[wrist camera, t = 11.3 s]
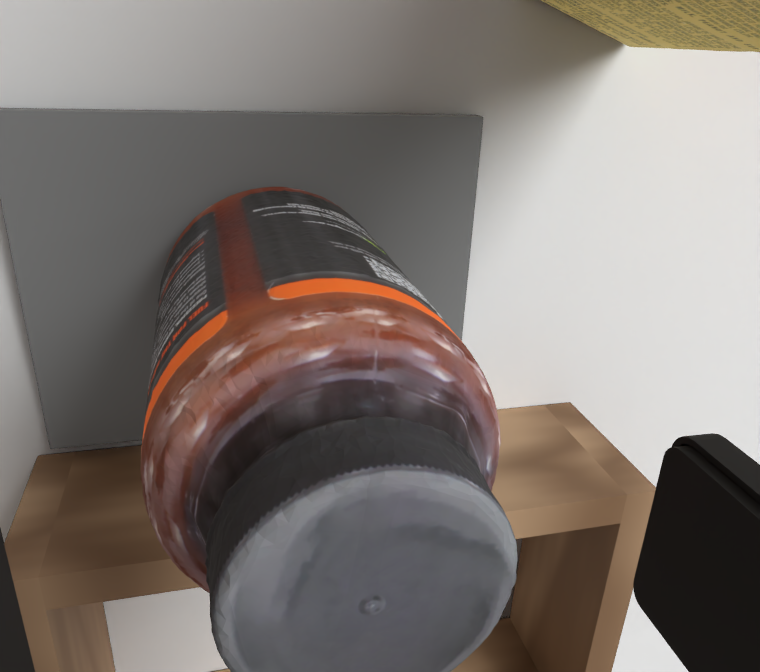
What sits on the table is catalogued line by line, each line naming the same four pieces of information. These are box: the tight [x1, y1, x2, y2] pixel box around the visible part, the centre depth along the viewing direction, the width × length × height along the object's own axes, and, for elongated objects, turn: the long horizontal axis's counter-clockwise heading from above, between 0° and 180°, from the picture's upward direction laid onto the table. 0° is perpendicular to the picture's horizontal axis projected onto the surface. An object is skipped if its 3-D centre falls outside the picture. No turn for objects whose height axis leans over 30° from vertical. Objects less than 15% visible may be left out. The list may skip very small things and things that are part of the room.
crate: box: [4, 402, 656, 672], centre depth 21 cm, size 17×11×5 cm, turn 88°
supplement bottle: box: [140, 187, 517, 672], centre depth 13 cm, size 6×6×11 cm
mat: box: [0, 108, 483, 449], centre depth 18 cm, size 12×9×1 cm
